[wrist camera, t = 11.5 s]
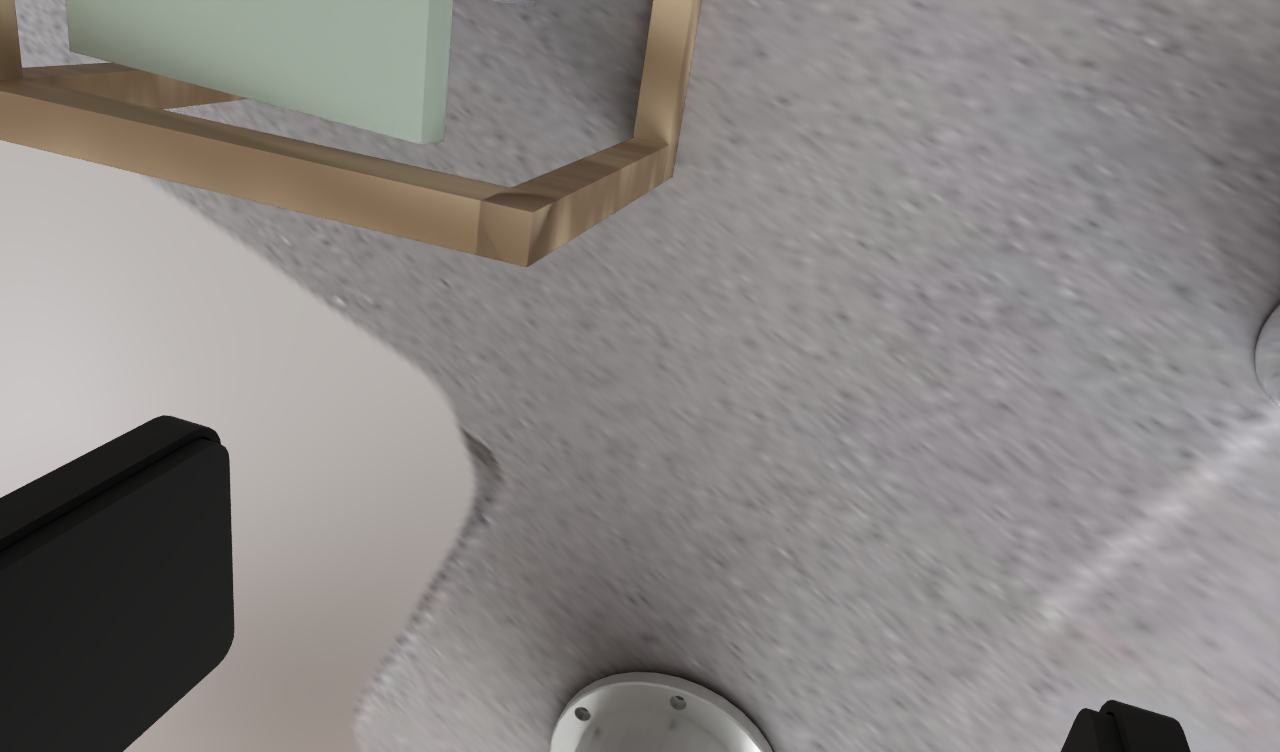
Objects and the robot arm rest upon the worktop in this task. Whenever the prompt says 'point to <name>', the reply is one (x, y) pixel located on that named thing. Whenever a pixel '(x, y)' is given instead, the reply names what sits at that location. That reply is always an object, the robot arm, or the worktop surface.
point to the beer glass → (1269, 357)
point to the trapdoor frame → (340, 180)
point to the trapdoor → (290, 53)
